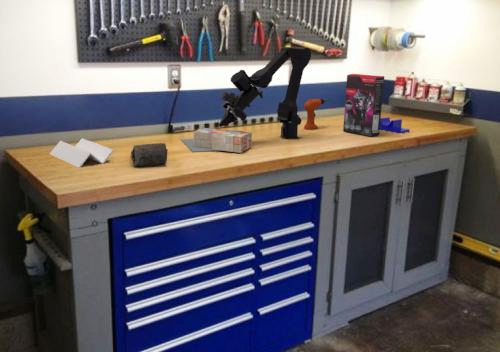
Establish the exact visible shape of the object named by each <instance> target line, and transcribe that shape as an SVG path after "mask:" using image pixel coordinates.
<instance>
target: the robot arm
mask: <svg viewBox="0 0 500 352" xmlns="http://www.w3.org/2000/svg"><path fill="white" fill-rule="evenodd" d="M311 58H312V52H311V49H309V48H308V47H297V46H296V47H289V46H283V47H281V48H280V50H279V52H277V53H276V54H275V56H274V57H272V59H270V61H268V63H267V64H266V65H265V66H264V67H263V68H261V69H259V70H257V71H255V72H254V73H253V74H251V75H250V76H249V75H248V74H247V72H246V71H245V70H244V69H240V70H239V71H237V72H235V73H234V74H233V75H232V76H231V77H230V82H231V84H232V85H234V87H235V88H236V89H237V90H238V91H239V92H241V93H239V94H236V95H235V93H234V92H232V91H230V92H227V91H224V90H223V91H222V93H221V95H220V98H219V99H221V100H223V101H224V102H223V103H221V107H222V108H223V111H224V114H223V116H222V117H221V120H220V122H219V123H218V126H219V127H220V128H223V127H224V126H227V125H229V124H231V123H235V122H237V121H239V119H240V121H241V122H245V121H246V120H247V114H246V113H245V112H244V111H245V110H246V109H247V108H250V107H251V104H252V103H253V102H254V101H255V100H256V99H257V98H259V99H263V91H262V90H259V89H260V88H261V89H266V88H268V86H269V85H270V83H271V82H272V81H273V77H274V75H275V74H276V73H277V71H279V69H280V68H282V66H283V65H284V64H285V63H286V62H287V61H288V60H289V59H290V63H291V67H292V68H291V71H290V76H289V79H288V84H287V89H286V93H285V97H284V100H283V101H282V102H278V107H277V110H276V112H277V113H276V114H277V117H278V120H279V123H281V125H282V126H281V127H280V137H282V138H283V139H286V140H287V139H288V140H289V139H299V138H300V137H299V136H298V132H299V131H298V128H299V126H300V125H301V124H302V118H301V117H300V116H299V114H298V105H297V98H298V95H299V91H300V88H301V87H300V86H301V82H302V77H303V73H304V70H305V68H307V66H308V64H309V63H310V61H311ZM258 88H259V89H258ZM238 118H239V119H238Z"/></svg>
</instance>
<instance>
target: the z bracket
mask: <svg viewBox="0 0 500 352" xmlns="http://www.w3.org/2000/svg"><path fill="white" fill-rule="evenodd" d="M114 151H115V150H114V149H112V148H111V147H107V146H104V145H102V144H99V143H96V142H93V141H91V140H87V138H86V139H85V138H83V137H82V138H81V139H80V140H79V141H78V142H77V143H76V144H75V146H74V145H72V144H69V143H67V142H64V141H63V140H59V141H58V143H57V144H56V145H55V146H54V148H53V149H52V150H51V151H50V153H49V155H51V156H53V157H55V158H56V159H57V158H58V159H60V160H62V161H63V162H66V163H68V164H71V165H73V166H75V167H77V168H81V167H83V165H84V163H85V162H86V161H87V160H88V159H89V160H91V161H94V162H97V163H99V164H101V165H103V164H104V163H106V161H107V160H108V159H109V158H110V156H111V155H112V154H113V152H114Z"/></svg>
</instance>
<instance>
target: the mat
mask: <svg viewBox="0 0 500 352" xmlns="http://www.w3.org/2000/svg"><path fill="white" fill-rule="evenodd" d="M180 141H182V143H183V144H184V145H185V146H186V147H187V148H188V149H189V150H190V151H191V152H192V153H205V152H207V153H208V152H223V151H222V150H212V148H204V147H194V138H184V139H183V138H182V139H180Z"/></svg>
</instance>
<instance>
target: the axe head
mask: <svg viewBox="0 0 500 352" xmlns="http://www.w3.org/2000/svg"><path fill="white" fill-rule="evenodd" d="M168 150H169V149H167V145H166V143H165V142H160V143H159V142H158V143H157V142H156V143H144V144H136V145H135V144H134V145H133V147H132V150H131V151H130V154H131V157H132V159H133V166H134V167H150V166H157V165H161V164H166V163H167V160H168Z"/></svg>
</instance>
